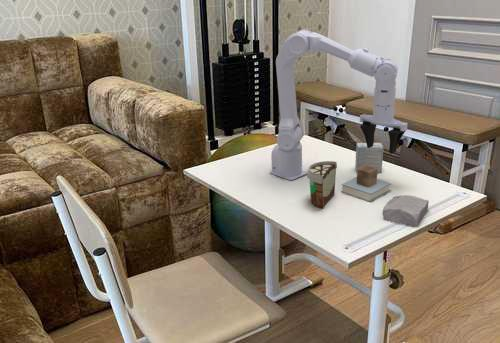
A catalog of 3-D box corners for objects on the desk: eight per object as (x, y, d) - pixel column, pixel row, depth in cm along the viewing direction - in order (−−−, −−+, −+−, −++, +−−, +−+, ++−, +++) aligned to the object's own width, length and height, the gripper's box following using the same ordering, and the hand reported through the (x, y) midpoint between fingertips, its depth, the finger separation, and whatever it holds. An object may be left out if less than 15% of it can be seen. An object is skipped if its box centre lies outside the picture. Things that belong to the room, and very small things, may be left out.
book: (341, 192, 143) (341, 184, 142) (361, 181, 150) (362, 174, 149) (370, 202, 136) (371, 193, 135) (390, 191, 143) (391, 183, 142)
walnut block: (356, 183, 142) (357, 169, 141) (364, 179, 145) (365, 165, 143) (368, 187, 139) (369, 172, 138) (376, 183, 142) (377, 168, 140)
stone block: (380, 227, 127) (420, 228, 122) (377, 209, 126) (417, 210, 121) (393, 210, 137) (431, 210, 131) (391, 193, 136) (429, 193, 130)
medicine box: (379, 168, 160) (381, 142, 156) (382, 173, 155) (383, 147, 152) (354, 168, 160) (356, 142, 157) (356, 173, 156) (357, 147, 153)
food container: (315, 190, 145) (316, 158, 142) (336, 193, 142) (337, 161, 139) (299, 207, 135) (299, 173, 131) (321, 211, 132) (321, 176, 129)
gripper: (414, 105, 137) (410, 151, 142) (370, 97, 147) (368, 141, 152) (401, 110, 133) (397, 158, 138) (356, 102, 143) (354, 146, 148)
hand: (381, 149), depth 145 cm, fingers open, 7 cm apart
